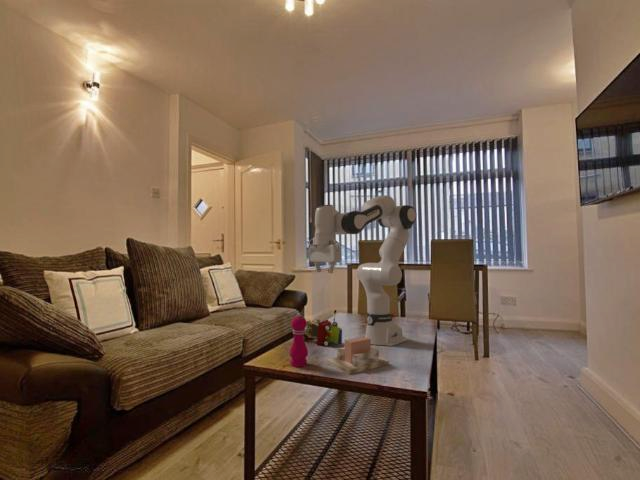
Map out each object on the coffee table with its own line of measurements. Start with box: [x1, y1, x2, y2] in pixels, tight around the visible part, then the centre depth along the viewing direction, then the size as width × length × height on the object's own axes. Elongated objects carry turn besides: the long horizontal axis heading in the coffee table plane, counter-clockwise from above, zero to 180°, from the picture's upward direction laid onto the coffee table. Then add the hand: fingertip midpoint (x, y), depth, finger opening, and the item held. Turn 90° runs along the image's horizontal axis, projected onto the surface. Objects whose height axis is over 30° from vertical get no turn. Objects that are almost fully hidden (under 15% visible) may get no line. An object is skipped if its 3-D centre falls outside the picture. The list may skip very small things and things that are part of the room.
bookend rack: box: [326, 346, 390, 375], centre depth 129 cm, size 20×14×6 cm
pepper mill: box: [289, 312, 309, 368], centre depth 128 cm, size 7×7×20 cm
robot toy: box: [304, 309, 343, 347], centre depth 159 cm, size 17×9×20 cm
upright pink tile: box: [344, 336, 372, 364], centre depth 129 cm, size 10×4×8 cm, turn 123°
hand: (324, 272), depth 143 cm, fingers open, 8 cm apart
